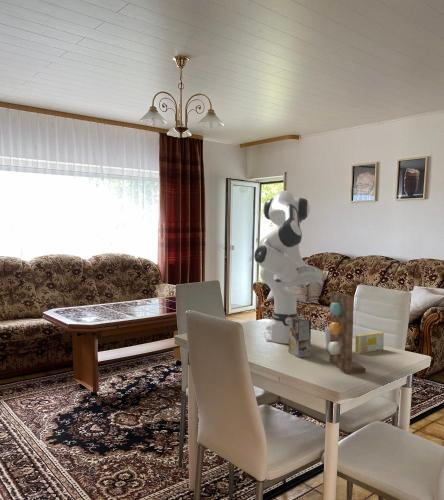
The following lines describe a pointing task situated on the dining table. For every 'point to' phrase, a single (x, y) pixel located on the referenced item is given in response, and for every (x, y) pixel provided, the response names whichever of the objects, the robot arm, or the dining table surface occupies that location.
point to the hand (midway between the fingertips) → (312, 284)
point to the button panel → (344, 335)
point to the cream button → (335, 348)
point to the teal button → (336, 308)
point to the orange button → (335, 328)
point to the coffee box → (299, 336)
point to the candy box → (369, 342)
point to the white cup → (327, 337)
